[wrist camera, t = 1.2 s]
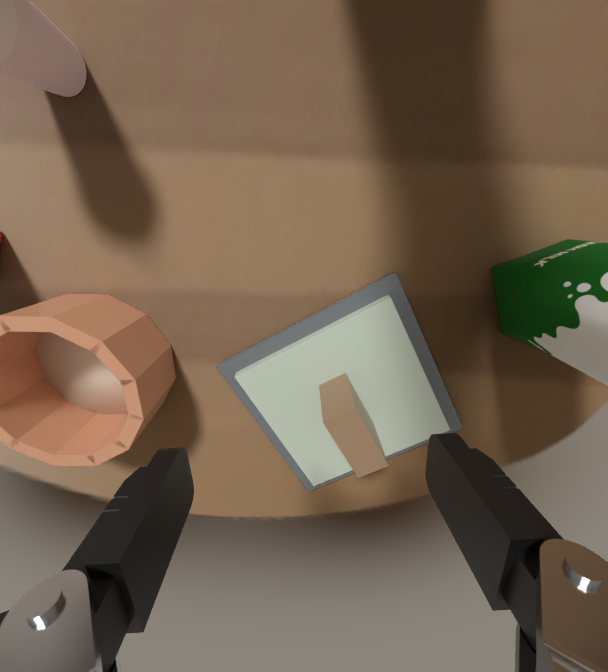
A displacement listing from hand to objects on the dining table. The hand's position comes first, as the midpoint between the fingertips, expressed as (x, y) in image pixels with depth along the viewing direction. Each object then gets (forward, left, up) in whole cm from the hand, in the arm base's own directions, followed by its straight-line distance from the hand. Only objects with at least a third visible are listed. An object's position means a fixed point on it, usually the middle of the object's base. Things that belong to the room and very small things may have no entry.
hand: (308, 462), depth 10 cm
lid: (+1, +12, -20) cm, 23 cm away
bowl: (+21, -4, -20) cm, 30 cm away
